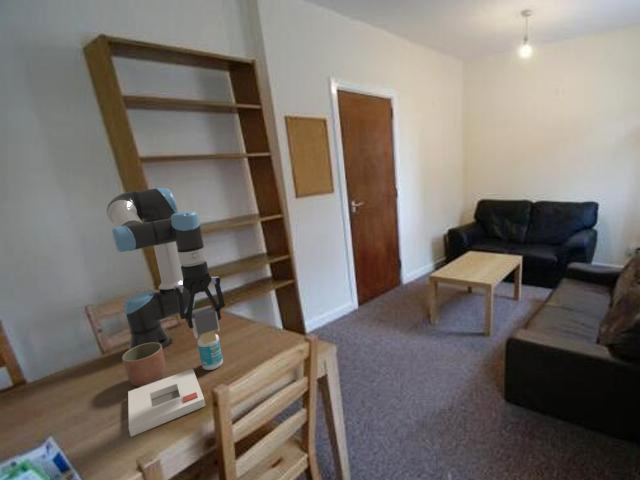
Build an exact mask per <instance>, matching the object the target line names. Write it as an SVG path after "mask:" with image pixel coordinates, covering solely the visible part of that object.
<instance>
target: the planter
mask: <svg viewBox="0 0 640 480" xmlns="http://www.w3.org/2000/svg"><path fill="white" fill-rule="evenodd" d="M121 360H122V362H123V367H124V369H125V373H126V376H127V378H128V380H129V383H130V384H131V385H132V386H134V387H137V388H139V387H142V386H145V385H148V384H151V383H153V382H156V381H159V380H162V379H163V376H164V375H165V373H166V361H165V356H164V351H163V349H162V345H161V344H160V343H156V342H152V343H145V344H142V345H139V346H136V347H134V348H132V349H130V350H129V349H128V350H127V351H125V352H124V354H123V355H122V357H121Z"/></svg>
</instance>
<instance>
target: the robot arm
mask: <svg viewBox="0 0 640 480" xmlns="http://www.w3.org/2000/svg"><path fill="white" fill-rule="evenodd" d="M106 215H107V218H108V220H110V221H111V223H113V224H114V225H115V227H113V228H112V236H113V241H114V245H115V248H116V250H117V251H118V252H120V253H122V252H123V253H124V252H133V251H137V250H140V249H146V248H151V247H153V249H154V253H155V254H154V255H155V258H156V263H157V267H158V273H159V276H160V280H161V281H160V284H159V286H158V289H159V290H158V291H157V292H155V291H154V290H152V289H147V290H143V291H139V292H137V293H135V294H133V295H130V296H129V297H128V298H127V299H126V300H125V301H124V303H123V308H124V314H125V316H126V321H127V325H128V329H129V333H130V337H129V338H130V339H129V346H128V347H129V348H128V350H130V349H132V348H134V347H136V346H139V345H142V344H145V343H152V342H156V343H160V344H161V345H162V350H163V349H165V348H166V347H168V345H169V344H170V337H169V335H168V333H167V332H166V330H165V329H164V328H163V326H162V323H161V320H165V319H168V318H171V317H174V316H177V315H179V317H180V319H181V320H187V326H188V328H189V330H192V332H193V337H194V338H195V339H199V336H198V333H197V329H196V324H195V319H194V317H193V316H192V311H193V310H194V307H195V303H196V301H195V300H196V295H197V294H198V293H205V294H206V296H207V298H208V300H209V302H210V303H211V306H212V308H213V309H214V310H215V314H216V319H217V325H218V329H216V330H215V331H217V332H221V330H220V324H219V321H220V320H221V319H222V316H221V309H222V308H225V307H226V304H225V300H224V296H223V292H222V288H221V278H220V277H219V276H217V275H216V276H211V275H210V273H209V268H208V267H209V266H208V262H207V261H206V260H207V257H206V252H205V246H204V241H203V235H202V231H201V229H202V228H201V221H200V219H199V215H198V212H196V211H194V210H192V211H191V210H187V211H181V212H179V211H178V205H177V201H176V199H175V197H174V195H173V193H172V191H171V190H170V189H169V188H165V187H156V188H151V189H149V188H148V189H141V190H133V191H127V192H123V193H120V194H119V195H117V196H116V197H113V199H112V200H111V201H110V202H109V203H108V205H107V208H106ZM211 282H212V283H213V285H214V289H215V293H216V297H217V301H218V303H217V301H216V299H215V297H214V296H213V294H212V292H211V291H210V288H209V285H210V284H211Z"/></svg>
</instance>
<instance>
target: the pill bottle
mask: <svg viewBox="0 0 640 480" xmlns="http://www.w3.org/2000/svg"><path fill="white" fill-rule="evenodd" d="M215 335H216V341H213V342H210V343H207V344H204V345H203V343H202V341H201V338H200V337H198V338H197V347H198V351H199V353H198V354H199V358H200V363H201V367H202V369H203V370H205V371H211V370H215V369H218V368H219V367H221V365H223V363H224V359H223V352H222V347H221V341H220V336H219V335H218V334H216V333H215Z"/></svg>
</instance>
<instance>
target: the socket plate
mask: <svg viewBox="0 0 640 480" xmlns="http://www.w3.org/2000/svg"><path fill="white" fill-rule="evenodd" d="M127 393H128V395H127V397H128V401H127V402H128V405H127V406H128V431H129V434H130V435H129V436H130V437H131V438H132V437H133V436H137V435H139V434H141V433H144V432H146V431H148V430H150V429H153V428H156V427H159V426H161V425H163V424H165V423H168V422H170V421H172V420H175V419H177V418H180V417H182V416H185V415H188V414H190V413H193V412H195V411H197V410H199V409H202V408H204V407H206V406H207V405H206V402H205V401H206V400H205V398H204V395H203V392H202V389H201V386H200V384H199V381H198V378H197V376H196V374H195V370H194V368H191V369H188V370H184V371H182V372H179V373H176V374H174V375H171V376H168V377H165V378H161V379H159V380H158V381H156V382H153V383H151V384H148V385H145V386H142V387H137V388H133V389H132V390H128V391H127Z"/></svg>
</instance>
